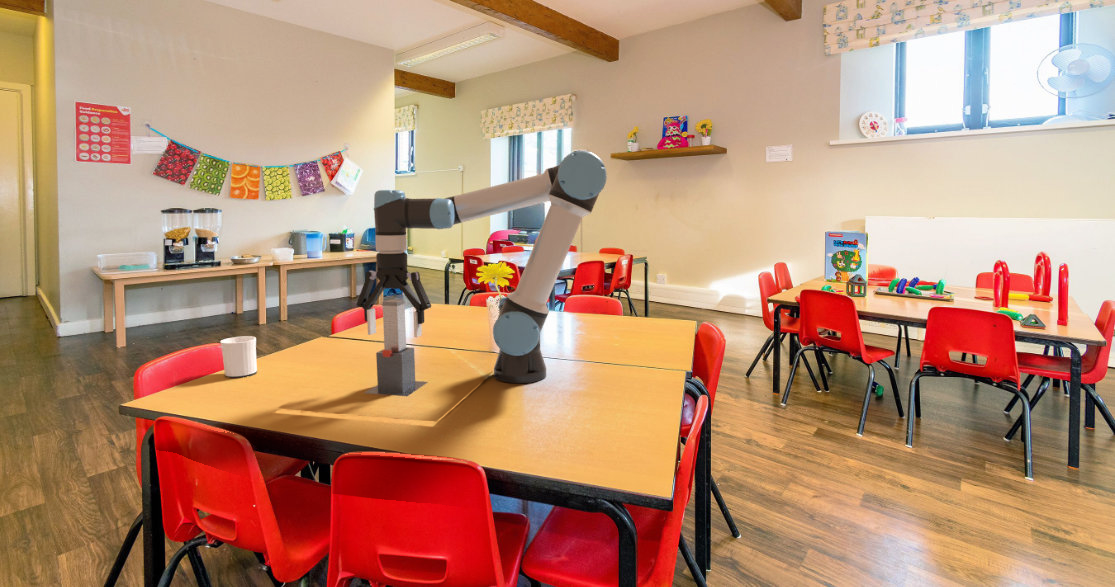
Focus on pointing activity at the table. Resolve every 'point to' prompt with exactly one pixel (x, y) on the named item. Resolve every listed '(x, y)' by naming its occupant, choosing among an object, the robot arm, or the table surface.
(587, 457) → the table surface
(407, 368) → the stand housing
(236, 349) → the mug
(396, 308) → the column
